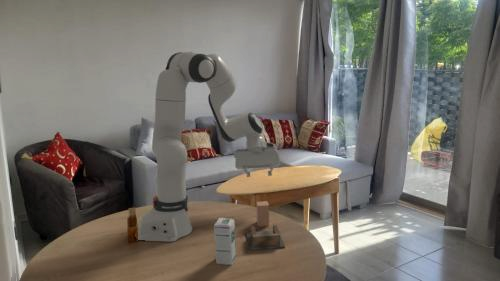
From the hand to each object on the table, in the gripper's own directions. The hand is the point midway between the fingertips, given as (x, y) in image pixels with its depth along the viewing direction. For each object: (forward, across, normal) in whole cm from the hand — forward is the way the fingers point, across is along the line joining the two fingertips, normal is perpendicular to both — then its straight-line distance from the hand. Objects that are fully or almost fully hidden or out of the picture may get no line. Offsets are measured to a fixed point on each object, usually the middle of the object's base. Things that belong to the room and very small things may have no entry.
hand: (259, 175), depth 169 cm
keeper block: (+21, 0, +3) cm, 21 cm away
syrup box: (+40, -16, -16) cm, 46 cm away
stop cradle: (+31, -1, -8) cm, 32 cm away
